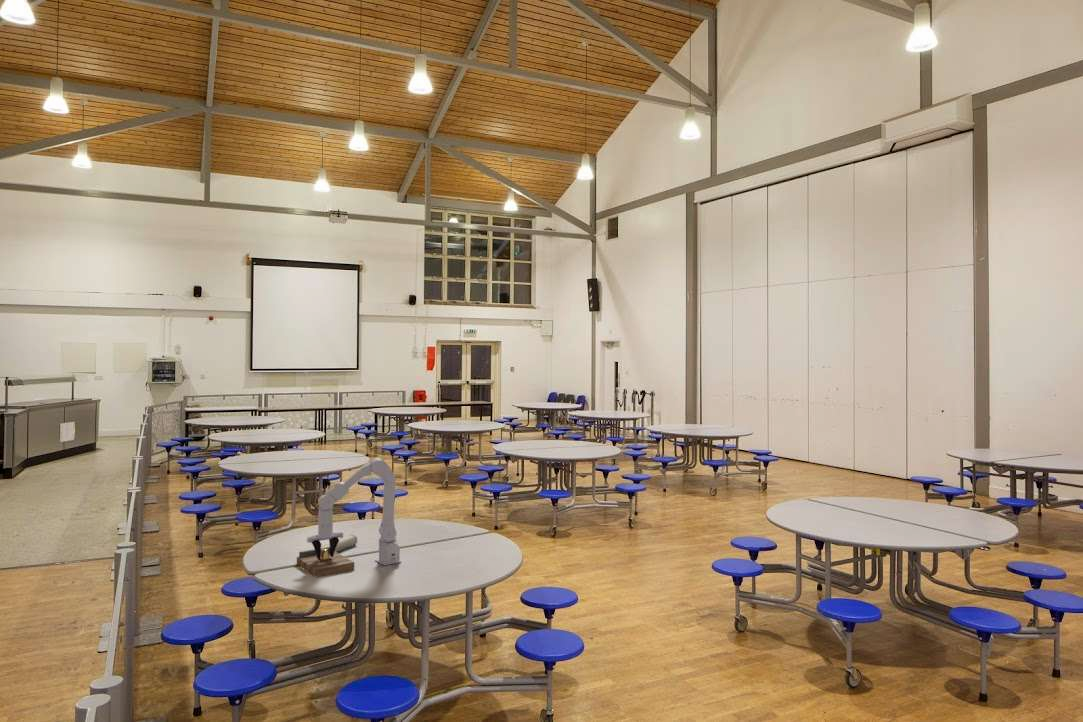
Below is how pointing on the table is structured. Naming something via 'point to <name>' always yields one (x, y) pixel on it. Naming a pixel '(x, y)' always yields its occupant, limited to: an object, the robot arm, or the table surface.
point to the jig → (323, 563)
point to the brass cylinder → (324, 555)
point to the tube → (344, 543)
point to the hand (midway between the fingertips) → (325, 557)
